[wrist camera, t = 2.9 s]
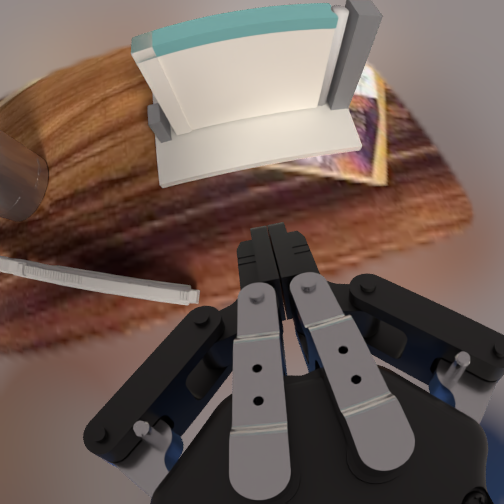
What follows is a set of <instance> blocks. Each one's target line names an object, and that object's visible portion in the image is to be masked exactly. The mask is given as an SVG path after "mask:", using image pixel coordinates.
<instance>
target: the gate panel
mask: <svg viewBox="0 0 504 504" xmlns="http://www.w3.org/2000/svg"><path fill="white" fill-rule="evenodd" d="M348 15H349V11H348V9H347V8H345V7H343V6H339V5H334V6H332V7H331V5H330V4H329V3H317V4H316V3H314V4H295V5H281V6H271V7H262V8H255V9H247V10H240V11H234V12H228V13H223V14H217V15H212V16H208V17H203V18H199V19H194V20H191V21H186V22H183V23H178V24H175V25H171V26H168V27H164V28H160V29H157V30H154V31H151V32H147V33H144V34H141V35H138V36H136V37H133V38H132V45H131V55H132V57H133V58H134V60H135V62H136V64H137V66H138V67H139V69H140V71H141V73H142V74H143V76H144V78H145V80H146V82H147V83H148V85H149V87H150V89H151V90H152V92H153V94H154V96H155V97H156V99H157V101H158V103H159V105H160V106H161V108H162V110H163V112H164V113H165V115H166V117H167V119H168V120H169V122H170V124H171V126H172V127H173V129H174V131H175V133H176V134H177V135H181V134H185V133H189V132H192V130H195V129H199V128H203V127H207V126H212V125H216V124H221V123H225V122H230V121H235V120H240V119H245V118H250V117H256V116H262V115H267V114H273V113H280V112H286V111H293V110H300V109H307V108H315V107H317V106H323V105H325V103H326V100H327V96H328V93H329V89H330V85H331V81H332V78H333V74H334V70H335V66H336V62H337V58H338V55H339V51H340V47H341V43H342V39H343V35H344V31H345V27H346V23H347V19H348Z"/></svg>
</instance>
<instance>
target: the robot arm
mask: <svg viewBox="0 0 504 504" xmlns="http://www.w3.org/2000/svg"><path fill="white" fill-rule="evenodd" d="M47 184H48V168H47V164H46V162H45V160H44V159H43V158H42V157H40V156H39V155H37V154H36V153H34V152H32V151H31V150H29V149H28V148H26V147H25V146H24V145H22V144H21V143H19V142H18V141H16V140H15V139H13V138H12V137H10V136H9V135H7V134H6V133H4V132H3V131H1V130H0V217H2V218H7V219H10V220H13V221H22V220H25V219H27V218H28V217H29V216H31V215H32V214H33V213H34V212H35V210H36V209H37V207H38V206H39V205H40V203H41V201H42V199H43V197H44V194H45V191H46V188H47ZM267 227H268V231H267ZM267 227H266V226H262V227H257V228H252V229H250V231H251V237H252V240H249V241H244V242H240V244H239V246H238V248H237V258H238V268H239V278H240V288H241V291H240V293H239V295H238V299H237V300H236V301H235V302H234V303H233V304H232V305H230V306H228V307H226V308H224V309H222V310H220V311H218V310H217V309H216V308H214V307H211V306H201V307H198V308H195V309H194V310H192V311H191V312H189V313H188V314H187V316H186V317H185V318H184V319H183V320H182V321H181V322H180V323H179V324H178V325H177V326H176V328H175V329H174V330H173V331H172V332H171V333H170V334H169V335H168V336H167V338H166V339H165V340H164V341H163V342H162V343H161V344H160V345H159V346H158V347H157V348H156V350H155V351H154V352H153V353H152V354H151V355H150V356H149V357H148V358H147V359H146V361H145V362H144V363H143V364H142V365H141V366H140V367H139V368H138V369H137V370H136V371H135V373H134V374H133V375H132V376H131V377H130V378H129V379H128V380H127V381H126V382H125V384H124V385H123V386H122V387H121V388H120V389H119V390H118V391H117V392H116V394H115V395H114V396H113V397H112V398H111V399H110V400H109V401H108V402H107V403H106V404H105V406H104V407H103V408H102V409H101V410H100V411H99V412H98V413H97V414H96V416H95V417H94V418H93V419H92V420H91V421H90V422H89V423H88V425H87V426H86V428H85V430H84V436H83V440H84V444H85V446H86V447H87V449H88V450H89V451H90V452H92V453H94V454H95V455H97V456H99V457H101V458H102V459H103V460H104V461H106V462H108V463H109V464H111V465H113V466H115V467H117V468H118V469H119V470H120V471H121V472H123V473H124V474H125V475H126V476H127V477H128V478H129V479H130V480H131V481H132V482H134V483H135V484H136V485H137V486H138V487H139V488H140V489H142V490H143V491H144V492H145V493H146V494H148V495H149V496H150V497H151V498H152V499H151V503H150V504H494V503H493V502H492V500H491V498H490V496H489V494H488V492H487V488H486V479H485V475H486V472H485V471H486V461H487V454H488V443H487V438H486V435H485V432H484V430H483V429H482V427H481V426H480V422H481V419H482V417H483V415H484V413H485V410H486V408H487V405H488V403H489V401H490V398H491V396H492V393H493V390H494V388H495V385H496V383H497V382H498V381H499V380H500V378H501V377H502V376H503V375H504V335H502V334H500V333H498V332H496V331H494V330H492V329H490V328H488V327H486V326H484V325H482V324H480V323H478V322H475V321H474V320H472V319H470V318H467V317H465V316H463V315H461V314H459V313H457V312H455V311H453V310H450V309H448V308H446V307H444V306H442V305H440V304H438V303H436V302H434V301H431V300H429V299H427V298H425V297H423V296H421V295H418V294H416V293H414V292H412V291H410V290H407V289H405V288H403V287H401V286H398V285H396V284H394V283H392V282H390V281H388V280H386V279H383V278H381V277H379V276H376V275H373V274H361V275H358V276H356V277H354V278H353V279H352V280H351V282H350V284H335V283H331V282H329V281H327V280H326V279H325V278H324V277H323V276H322V275H320V273H319V271H318V268H317V266H316V263H315V261H314V258H313V256H312V254H311V251H310V249H309V246H308V244H307V241H306V239H305V237H304V236H303V235H302V234H301V233H299V232H298V231H294V232H289V233H287V231H286V228H285V225H284V223H283V222H282V223H277V224H271V225H267ZM268 233H269V235H268ZM283 303H284V304H283ZM284 307H285V311H286V315H287V320H288V319H292V318H293V321H294V325H295V332H296V336H297V339H298V342H299V345H300V348H301V351H302V354H303V357H304V359H305V362H306V365H307V368H308V372H309V373H308V374H305V375H302V376H287V369H286V360H285V350H284V342H283V324H282V321H284V320H286V318H285V311H284ZM371 354H372V355H374V356H376V357H378V358H379V359H381V360H383V361H385V362H386V363H389V364H390V365H392V366H394V367H396V368H398V369H399V370H401V371H403V372H405V373H407V374H408V375H410V376H412V377H414V378H416V379H418V380H419V381H421V382H423V383H425V384H427V385H428V387H429V392H430V393H428V392H427V391H425V390H423V389H422V388H420V387H418V386H416V385H415V384H413V383H411V382H410V381H408V380H406V379H405V378H403V377H401V376H400V375H398V374H396V373H395V372H393V371H391V370H390V369H387V368H385V367H383V366H379V365H376V363H375V361H374V359H373V357H372V355H371ZM232 371H233V393H232V394H231V395H229V396H228V397H227V398H225V399H224V400H223V401H222V402H221V403H220V404H219V405H218V406H217V408H216V409H215V410H214V412H213V413H212V414H211V416H210V417H209V419H208V420H207V421H206V423H205V424H204V426H203V427H202V429H201V430H200V431H199V433H198V434H197V435H196V437H195V438H194V440H193V441H192V442H191V443H190V445H189V446H188V448H187V449H186V450H185V452H184V453H183V454H182V452H183V448H184V447H183V445H184V444H183V441H182V438H181V436H182V435H183V434H184V432H185V431H186V430H187V429H188V427H189V426H190V425H191V424H192V422H193V421H194V420H195V419H196V417H197V416H198V415H199V414H200V412H201V411H202V410H203V408H204V407H205V406H206V405H207V403H208V402H209V401H210V399H211V398H212V397H213V396H214V394H215V393H216V392H217V390H218V389H219V388H220V387H221V385H222V384H223V382H224V381H225V380H226V379H227V377H228V376H229V375H230V373H231V372H232ZM181 454H182V455H181ZM180 456H181V457H180Z"/></svg>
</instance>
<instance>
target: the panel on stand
mask: <svg viewBox="0 0 504 504" xmlns="http://www.w3.org/2000/svg"><path fill="white" fill-rule="evenodd" d="M345 8H347V9H348V11H349V15H348V19H347V23H346V27H345V31H344V35H343V39H342V43H341V47H340V51H339V55H338V58H337V62H336V66H335V70H334V74H333V78H332V81H331V85H330V89H329V93H328V96H327V100H326V103H325V105H323V106H317V107H315V108H307V109H300V110H293V111H286V112H280V113H273V114H267V115H262V116H256V117H250V118H245V119H240V120H235V121H230V122H225V123H221V124H216V125H212V126H207V127H203V128H199V129H195V130H192V132H189V133H185V134H181V135H177V134H176V133H175V131H174V129H173V127H172V126H171V124H170V122H169V120H168V119H167V117H166V115H165V113H164V112H163V110H162V108H161V106H160V105H159V103H158V101H157V99H156V97H155V96H154V94H153V104H152V105H149V106H148V125H149V126H150V128H151V129H152V131H153V132H154V134H155V140H156V153H157V164H158V174H159V184H160V186H161V187H162V188H165V187H169V186H173V185H177V184H181V183H185V182H190V181H194V180H198V179H202V178H207V177H211V176H216V175H220V174H225V173H229V172H234V171H239V170H244V169H249V168H254V167H259V166H264V165H270V164H275V163H280V162H286V161H292V160H298V159H304V158H310V157H316V156H323V155H329V154H336V153H343V152H351V151H358V150H360V149H361V147H362V145H361V142H360V139H359V136H358V133H357V131H356V128H355V125H354V123H353V120H352V117H351V115H350V112H349V110H348V107H349V105H350V102H351V100H352V97H353V95H354V92H355V89H356V87H357V84H358V82H359V79H360V76H361V74H362V71H363V69H364V66H365V63H366V61H367V58H368V55H369V53H370V50H371V47H372V45H373V41H374V39H375V36H376V34H377V31H378V28H379V25H380V22H381V20H382V17H383V16H382V14H381V13H380V12H379V10H378V9H377V7H376V6H375V5H374V4H373V2H372V1H371V0H347V1H346V5H345Z"/></svg>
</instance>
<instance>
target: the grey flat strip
mask: <svg viewBox="0 0 504 504" xmlns="http://www.w3.org/2000/svg"><path fill="white" fill-rule="evenodd" d="M0 272H4V273H10V274H13V275H17V276H22V277H26V278H31V279H35V280H40V281H45V282H50V283H55V284H58V285H64V286H69V287H74V288H79V289H85V290H90V291H96V292H102V293H108V294H114V295H120V296H126V297H132V298H139V299H145V300H152V301H159V302H166V303H173V304H181V305H189V303H197V304H198V302H199V293H200V290H195V289H194V290H193V289H191V286H190V285H184V284H176V283H169V282H161V281H154V280H147V279H140V278H133V277H126V276H120V275H113V274H107V273H101V272H94V271H88V270H82V269H76V268H70V267H64V266H59V265H57V266H53V265H52V266H50V265H46V264H41V263H38V262H33V261H28V260H23V259H14V258H9V257H4V256H0Z"/></svg>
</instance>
